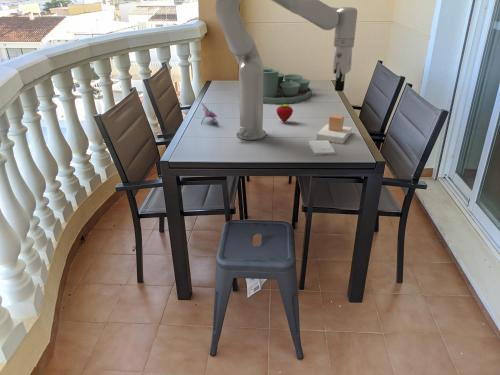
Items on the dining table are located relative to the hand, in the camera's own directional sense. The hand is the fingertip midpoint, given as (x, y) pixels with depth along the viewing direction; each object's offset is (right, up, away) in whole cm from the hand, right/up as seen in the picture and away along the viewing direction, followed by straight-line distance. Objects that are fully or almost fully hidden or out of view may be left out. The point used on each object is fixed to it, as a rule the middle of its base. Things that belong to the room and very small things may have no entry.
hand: (339, 90), depth 162 cm
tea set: (-21, +14, +68) cm, 73 cm away
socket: (0, -17, +8) cm, 19 cm away
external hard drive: (-8, -24, -4) cm, 26 cm away
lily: (-55, -9, +25) cm, 61 cm away
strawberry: (-20, -9, +24) cm, 33 cm away
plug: (0, -17, +9) cm, 19 cm away
